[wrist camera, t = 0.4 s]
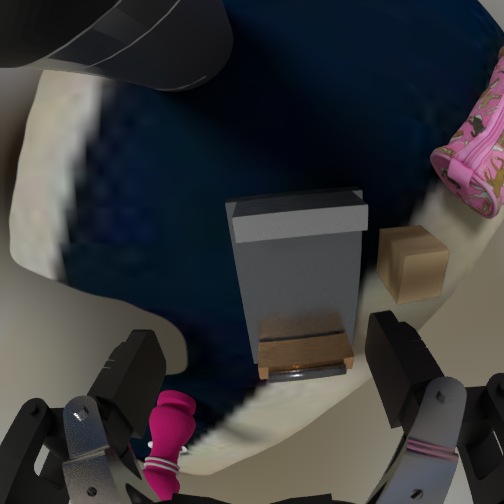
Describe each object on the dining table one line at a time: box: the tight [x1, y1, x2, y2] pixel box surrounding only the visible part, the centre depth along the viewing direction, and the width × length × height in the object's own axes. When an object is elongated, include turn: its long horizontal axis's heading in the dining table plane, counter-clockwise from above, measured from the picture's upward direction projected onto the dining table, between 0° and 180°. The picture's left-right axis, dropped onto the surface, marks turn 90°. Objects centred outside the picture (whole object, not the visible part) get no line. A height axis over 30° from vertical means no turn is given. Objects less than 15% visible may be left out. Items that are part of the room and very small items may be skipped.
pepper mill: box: [142, 390, 196, 501], centre depth 31 cm, size 7×7×20 cm
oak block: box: [376, 225, 450, 305], centre depth 24 cm, size 5×5×6 cm
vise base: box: [225, 186, 368, 364], centre depth 26 cm, size 20×12×6 cm, turn 7°
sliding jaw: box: [258, 333, 354, 383], centre depth 28 cm, size 2×10×5 cm, turn 97°
